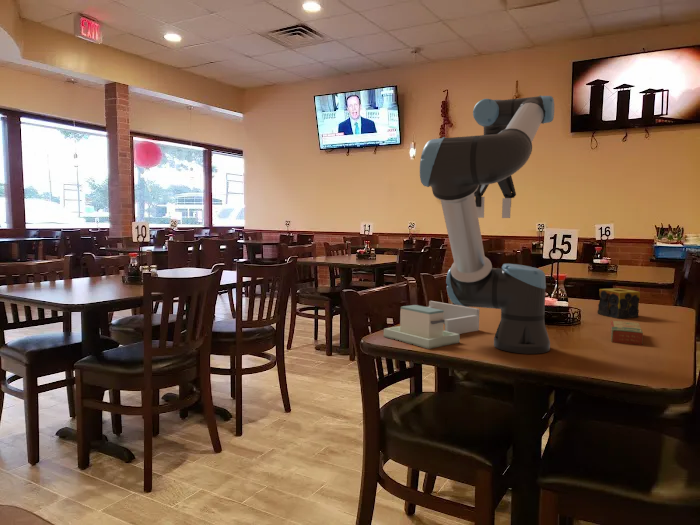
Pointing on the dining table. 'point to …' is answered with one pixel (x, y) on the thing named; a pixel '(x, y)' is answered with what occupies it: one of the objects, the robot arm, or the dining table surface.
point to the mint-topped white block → (422, 321)
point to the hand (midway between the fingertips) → (493, 218)
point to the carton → (626, 332)
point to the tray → (420, 341)
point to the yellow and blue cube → (619, 303)
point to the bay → (457, 317)
